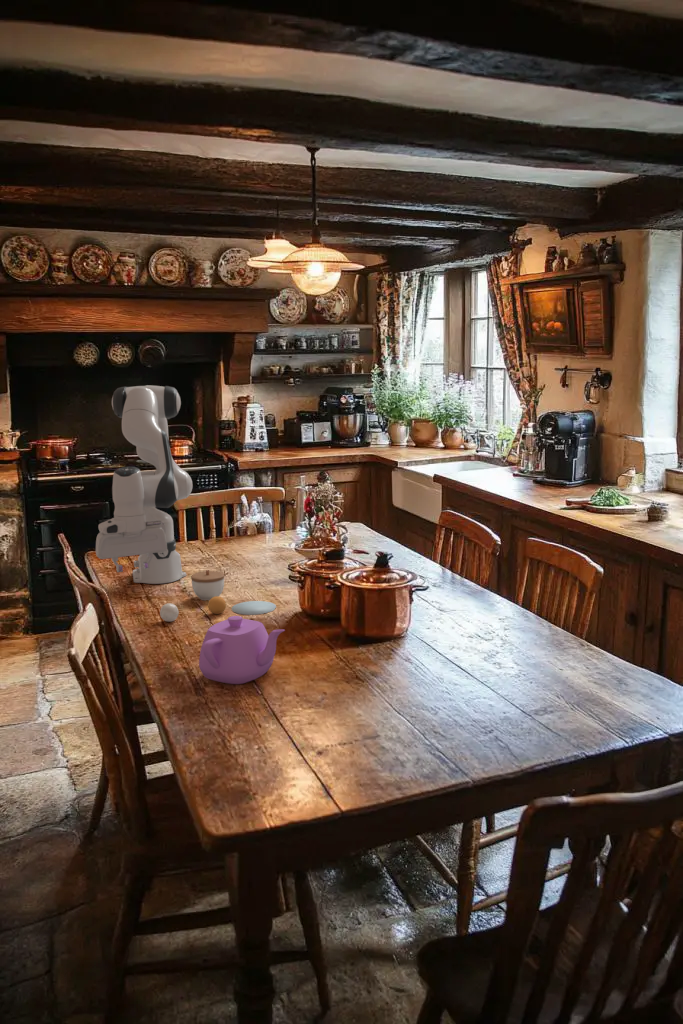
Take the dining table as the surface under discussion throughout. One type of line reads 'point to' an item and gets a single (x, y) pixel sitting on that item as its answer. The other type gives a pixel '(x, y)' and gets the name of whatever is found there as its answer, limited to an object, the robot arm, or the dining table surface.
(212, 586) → the lidded jar
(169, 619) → the cue ball
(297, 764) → the dining table surface
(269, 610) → the gray disc
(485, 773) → the dining table surface
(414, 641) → the dining table surface
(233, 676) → the teapot
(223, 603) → the object ball
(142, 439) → the robot arm
